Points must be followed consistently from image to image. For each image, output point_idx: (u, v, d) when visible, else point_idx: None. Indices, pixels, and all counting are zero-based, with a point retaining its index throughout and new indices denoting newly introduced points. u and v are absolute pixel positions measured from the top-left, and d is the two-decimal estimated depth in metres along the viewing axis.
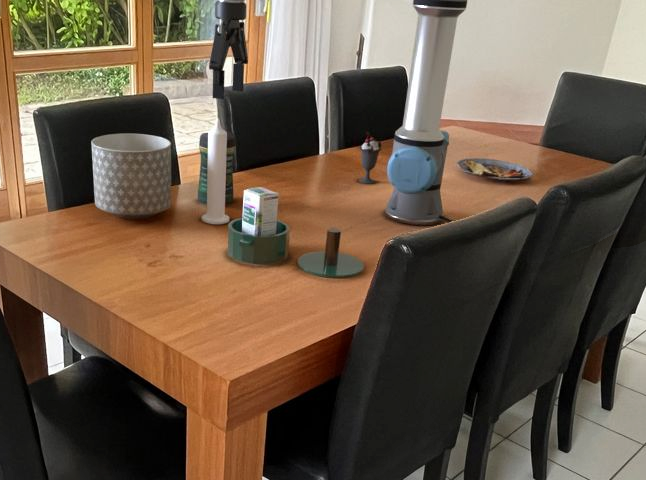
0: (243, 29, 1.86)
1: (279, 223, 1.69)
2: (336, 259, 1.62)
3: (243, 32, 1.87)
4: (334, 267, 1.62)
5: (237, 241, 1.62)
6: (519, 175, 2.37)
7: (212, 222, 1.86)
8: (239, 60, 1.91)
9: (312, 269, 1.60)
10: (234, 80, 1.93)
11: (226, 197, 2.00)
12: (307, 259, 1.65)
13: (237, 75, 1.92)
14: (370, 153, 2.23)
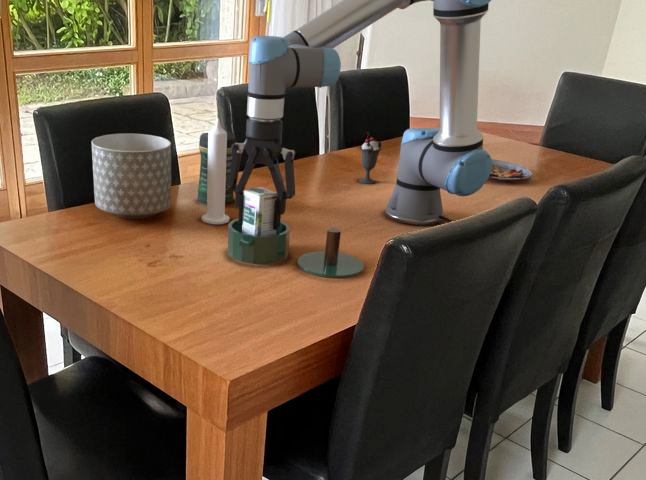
0: (287, 159, 1.55)
1: None
2: (336, 259, 1.62)
3: (287, 162, 1.56)
4: (334, 267, 1.62)
5: (237, 241, 1.62)
6: (519, 175, 2.37)
7: (212, 222, 1.86)
8: None
9: (312, 269, 1.60)
10: None
11: (226, 197, 2.00)
12: (307, 259, 1.65)
13: None
14: (370, 153, 2.23)
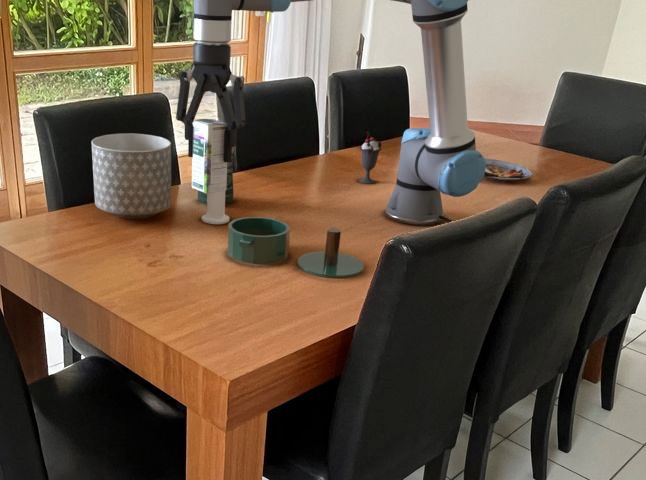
0: (235, 85, 1.50)
1: (279, 223, 1.69)
2: (336, 259, 1.62)
3: (235, 89, 1.51)
4: (334, 267, 1.62)
5: (237, 241, 1.62)
6: (519, 175, 2.37)
7: (212, 222, 1.86)
8: None
9: (312, 269, 1.60)
10: None
11: (226, 197, 2.00)
12: (307, 259, 1.65)
13: None
14: (370, 153, 2.23)
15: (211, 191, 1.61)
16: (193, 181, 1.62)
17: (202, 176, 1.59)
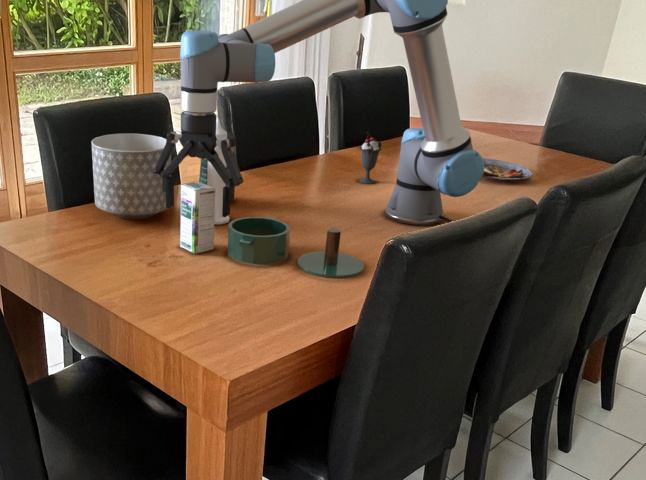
0: (223, 148, 1.57)
1: (279, 223, 1.69)
2: (336, 259, 1.62)
3: (224, 151, 1.57)
4: (334, 267, 1.62)
5: (237, 241, 1.62)
6: (519, 175, 2.37)
7: None
8: None
9: (312, 269, 1.60)
10: None
11: None
12: (307, 259, 1.65)
13: None
14: (370, 153, 2.23)
15: (199, 251, 1.68)
16: (182, 241, 1.69)
17: (190, 237, 1.67)
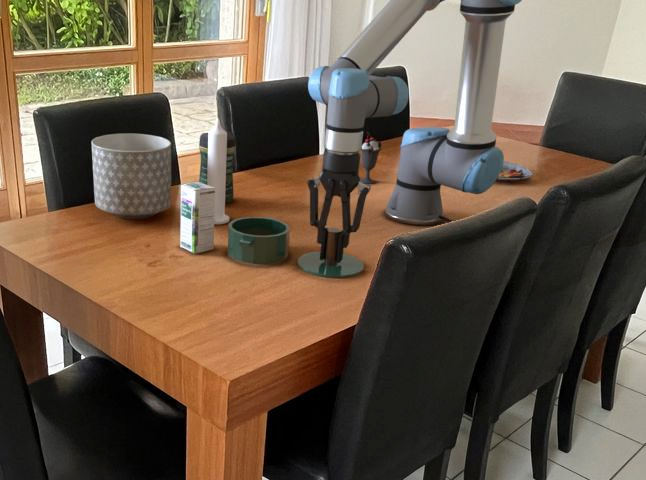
0: (362, 194, 1.54)
1: (279, 223, 1.69)
2: None
3: (360, 197, 1.54)
4: (334, 267, 1.62)
5: (237, 241, 1.62)
6: (519, 175, 2.37)
7: None
8: None
9: (312, 269, 1.60)
10: None
11: (226, 197, 2.00)
12: (307, 259, 1.65)
13: None
14: (370, 153, 2.23)
15: (199, 251, 1.68)
16: (182, 241, 1.69)
17: (190, 237, 1.67)
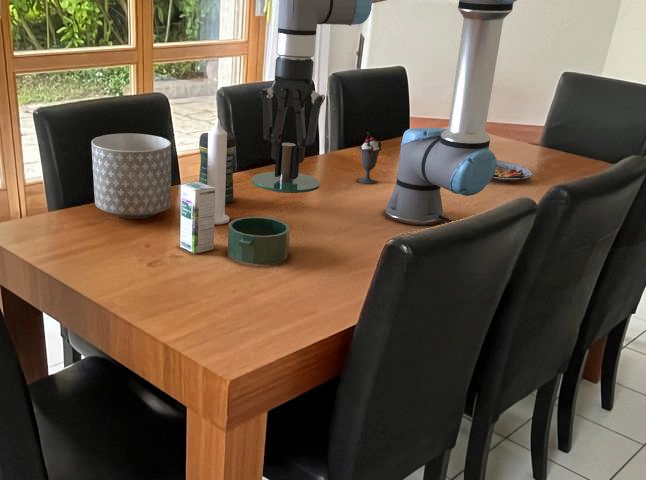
0: (315, 103, 1.48)
1: (279, 223, 1.69)
2: None
3: (314, 107, 1.49)
4: (290, 183, 1.56)
5: (237, 241, 1.62)
6: (519, 175, 2.37)
7: None
8: None
9: (266, 184, 1.55)
10: None
11: (226, 197, 2.00)
12: (262, 177, 1.60)
13: None
14: (370, 153, 2.23)
15: (199, 251, 1.68)
16: (182, 241, 1.69)
17: (190, 237, 1.67)
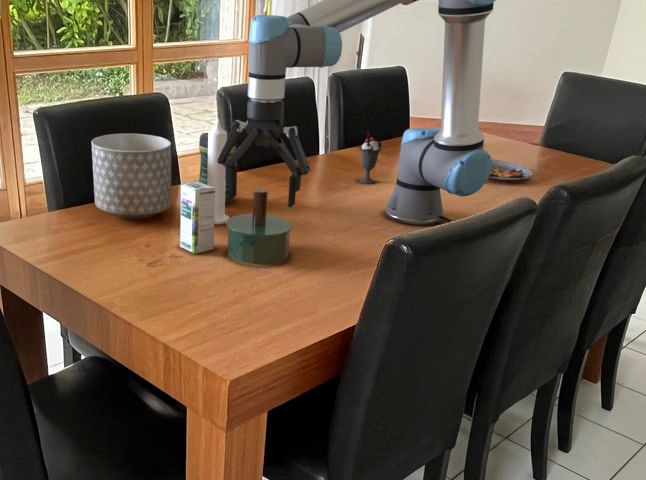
0: (291, 136, 1.53)
1: None
2: (264, 220, 1.64)
3: (292, 139, 1.53)
4: (262, 227, 1.63)
5: (237, 241, 1.62)
6: (519, 175, 2.37)
7: None
8: None
9: (239, 229, 1.61)
10: None
11: (226, 197, 2.00)
12: (236, 220, 1.66)
13: None
14: (370, 153, 2.23)
15: (199, 251, 1.68)
16: (182, 241, 1.69)
17: (190, 237, 1.67)
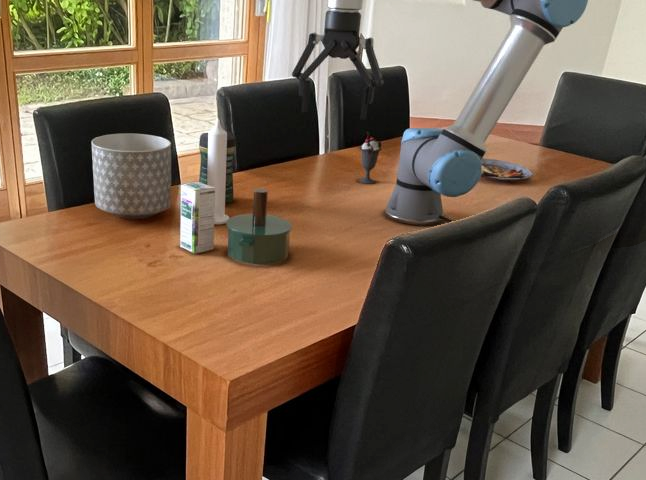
0: (367, 47, 1.58)
1: None
2: (264, 220, 1.64)
3: (368, 50, 1.58)
4: (262, 227, 1.63)
5: (237, 241, 1.62)
6: (519, 175, 2.37)
7: None
8: None
9: (239, 229, 1.61)
10: None
11: (226, 197, 2.00)
12: (236, 220, 1.66)
13: None
14: (370, 153, 2.23)
15: (199, 251, 1.68)
16: (182, 241, 1.69)
17: (190, 237, 1.67)
